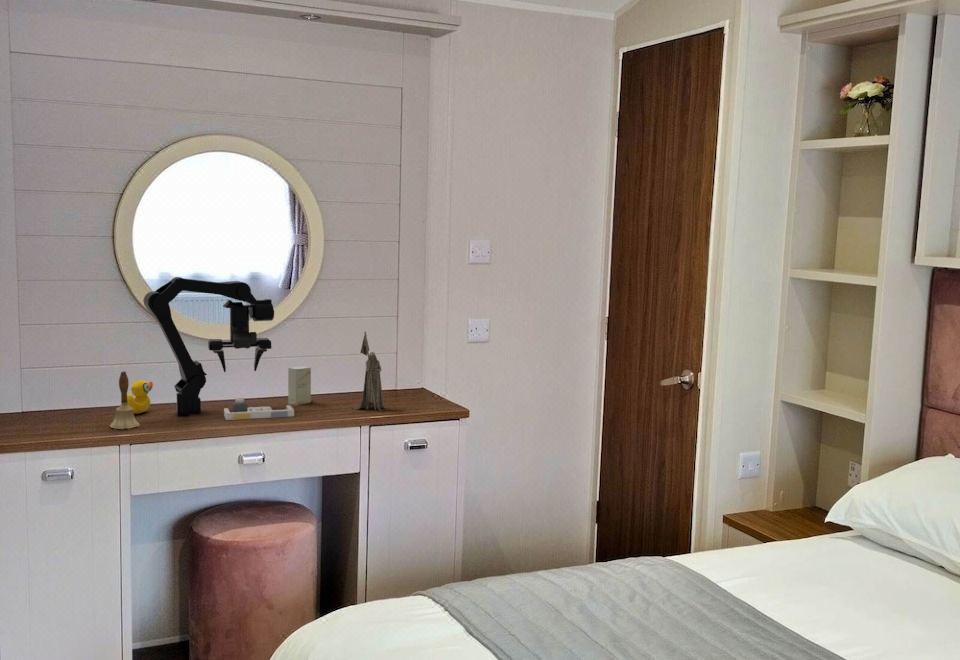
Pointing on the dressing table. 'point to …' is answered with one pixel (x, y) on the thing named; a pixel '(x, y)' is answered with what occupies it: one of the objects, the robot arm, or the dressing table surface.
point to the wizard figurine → (371, 380)
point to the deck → (259, 408)
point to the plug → (239, 405)
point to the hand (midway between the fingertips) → (240, 371)
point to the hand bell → (124, 407)
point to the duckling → (139, 396)
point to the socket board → (259, 413)
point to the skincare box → (299, 385)
